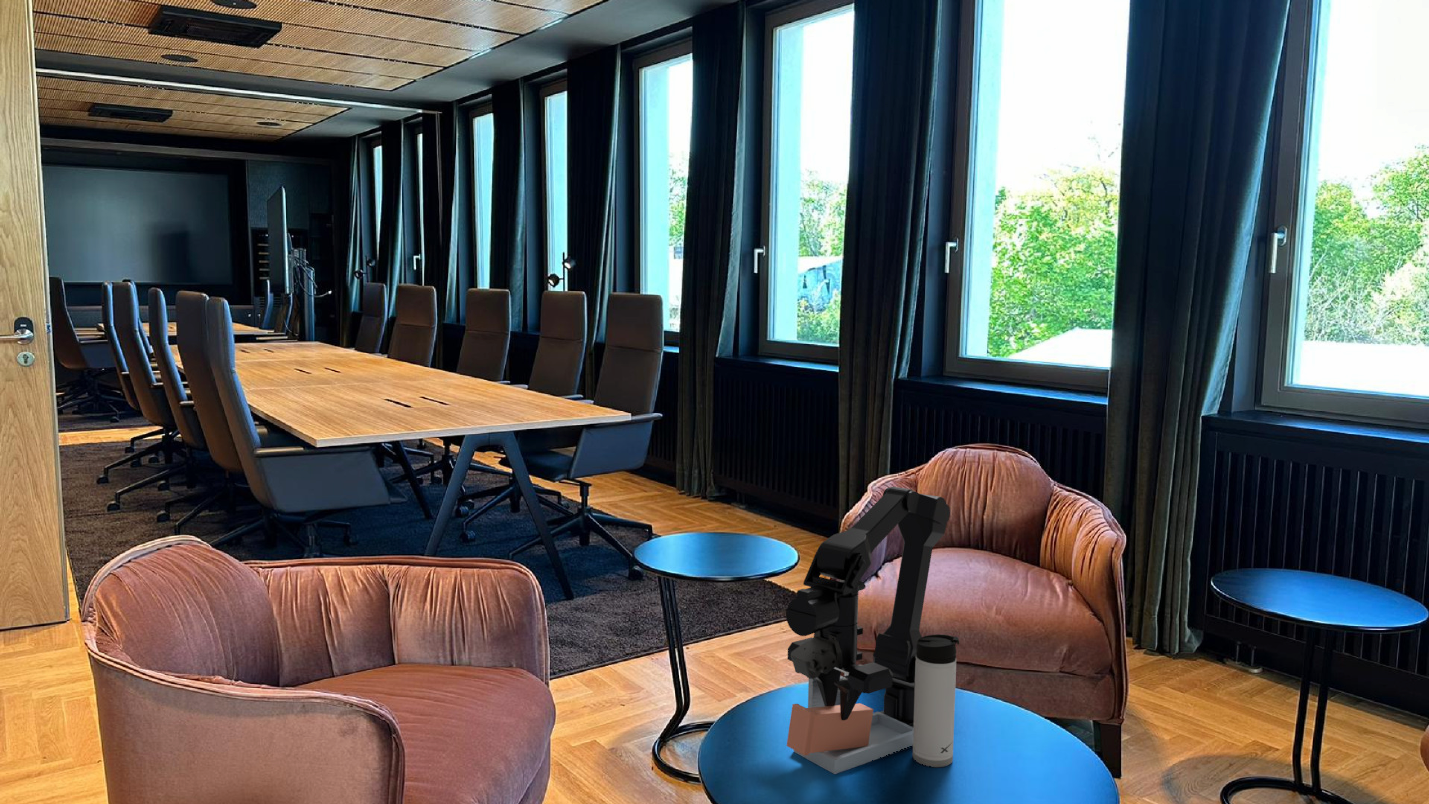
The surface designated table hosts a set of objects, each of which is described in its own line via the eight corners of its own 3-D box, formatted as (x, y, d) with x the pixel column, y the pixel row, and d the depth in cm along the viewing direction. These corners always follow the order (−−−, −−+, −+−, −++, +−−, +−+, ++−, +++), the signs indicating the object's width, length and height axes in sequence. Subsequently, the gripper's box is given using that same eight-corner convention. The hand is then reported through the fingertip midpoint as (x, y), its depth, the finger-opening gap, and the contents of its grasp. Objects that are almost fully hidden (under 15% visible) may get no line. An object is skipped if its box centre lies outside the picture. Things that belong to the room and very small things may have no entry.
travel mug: (955, 770, 158) (960, 645, 156) (912, 765, 160) (916, 641, 158) (954, 752, 165) (958, 632, 163) (912, 748, 166) (916, 629, 164)
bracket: (820, 709, 181) (821, 667, 181) (843, 721, 176) (845, 677, 176) (807, 713, 180) (808, 670, 179) (831, 725, 175) (832, 681, 174)
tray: (878, 723, 176) (878, 711, 175) (920, 743, 168) (920, 730, 168) (793, 751, 164) (794, 738, 164) (834, 774, 157) (835, 760, 156)
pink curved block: (852, 738, 168) (858, 698, 168) (870, 747, 165) (876, 706, 165) (786, 745, 160) (792, 704, 160) (804, 755, 156) (810, 712, 156)
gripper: (762, 614, 164) (761, 708, 165) (843, 647, 149) (840, 749, 150) (814, 603, 170) (812, 693, 172) (896, 633, 155) (893, 731, 157)
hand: (837, 716), depth 163 cm, fingers closed on pink curved block, 3 cm apart
